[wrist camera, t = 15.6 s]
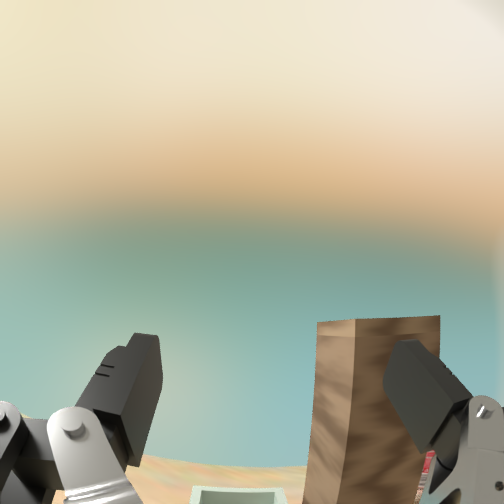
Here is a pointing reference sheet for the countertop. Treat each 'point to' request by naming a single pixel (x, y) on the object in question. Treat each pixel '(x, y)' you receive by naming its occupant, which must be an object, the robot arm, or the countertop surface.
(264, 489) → the sage bin
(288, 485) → the countertop surface
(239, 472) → the countertop surface
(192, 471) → the countertop surface
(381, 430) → the walnut stand
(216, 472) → the countertop surface
